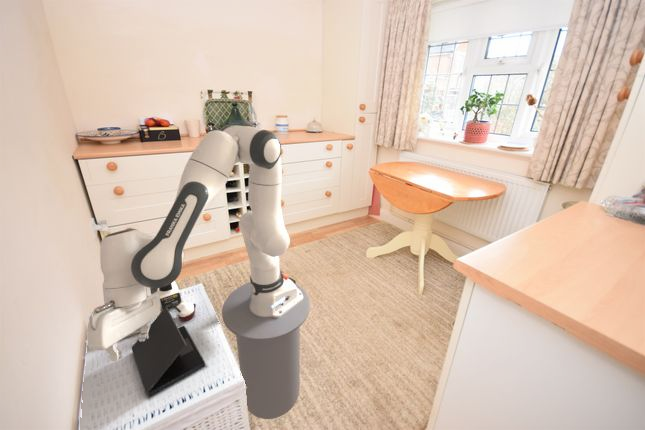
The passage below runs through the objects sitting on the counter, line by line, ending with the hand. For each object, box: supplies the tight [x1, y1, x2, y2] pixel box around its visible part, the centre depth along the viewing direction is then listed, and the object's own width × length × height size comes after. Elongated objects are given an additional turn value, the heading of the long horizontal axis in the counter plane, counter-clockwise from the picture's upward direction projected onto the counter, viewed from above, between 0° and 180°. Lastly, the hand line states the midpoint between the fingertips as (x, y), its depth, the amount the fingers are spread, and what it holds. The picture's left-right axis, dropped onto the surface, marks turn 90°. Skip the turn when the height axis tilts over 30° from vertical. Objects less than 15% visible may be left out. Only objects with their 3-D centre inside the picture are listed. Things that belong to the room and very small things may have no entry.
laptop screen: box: [131, 307, 187, 394], centre depth 91 cm, size 16×20×1 cm
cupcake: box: [169, 301, 197, 322], centre depth 109 cm, size 10×6×12 cm, turn 133°
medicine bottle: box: [157, 280, 183, 312], centre depth 116 cm, size 7×7×12 cm
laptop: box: [147, 325, 206, 398], centre depth 95 cm, size 16×20×2 cm
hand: (130, 349), depth 73 cm, fingers open, 8 cm apart
